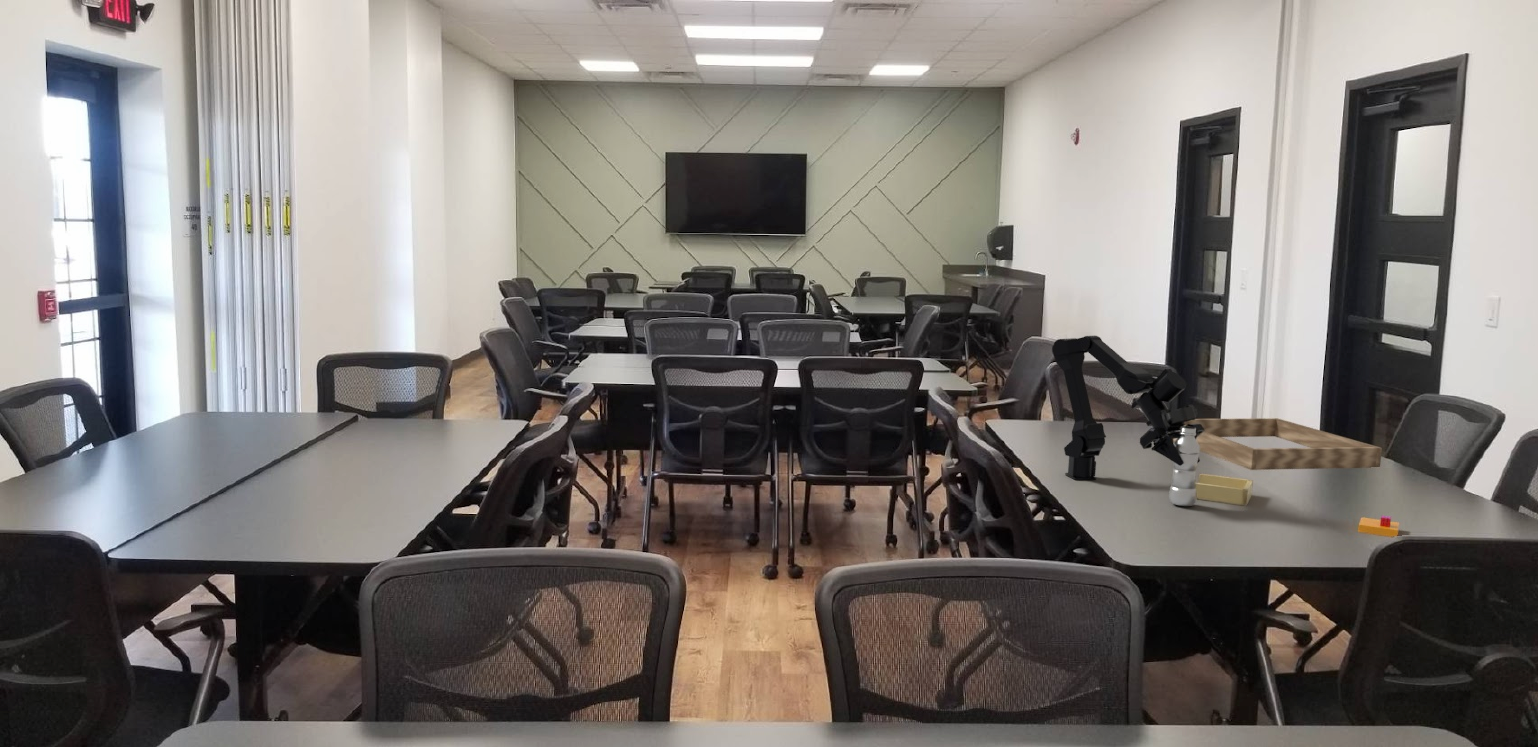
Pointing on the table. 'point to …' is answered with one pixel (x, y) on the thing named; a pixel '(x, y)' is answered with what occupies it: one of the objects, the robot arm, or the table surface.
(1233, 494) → the bay
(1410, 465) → the table surface
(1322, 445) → the frame
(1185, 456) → the plastic bottle
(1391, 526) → the orange block
